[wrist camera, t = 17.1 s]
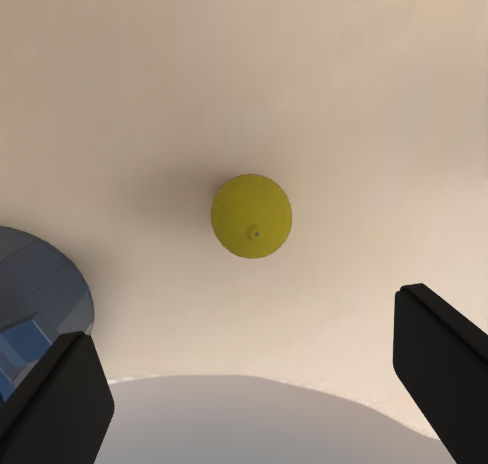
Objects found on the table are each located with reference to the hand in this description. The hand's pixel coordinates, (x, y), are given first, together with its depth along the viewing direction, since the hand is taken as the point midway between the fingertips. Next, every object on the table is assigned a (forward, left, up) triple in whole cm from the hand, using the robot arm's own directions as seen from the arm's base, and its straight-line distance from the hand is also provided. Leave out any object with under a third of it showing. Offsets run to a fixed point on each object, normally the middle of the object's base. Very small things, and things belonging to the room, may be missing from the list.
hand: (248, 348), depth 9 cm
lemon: (0, +1, -17) cm, 17 cm away
